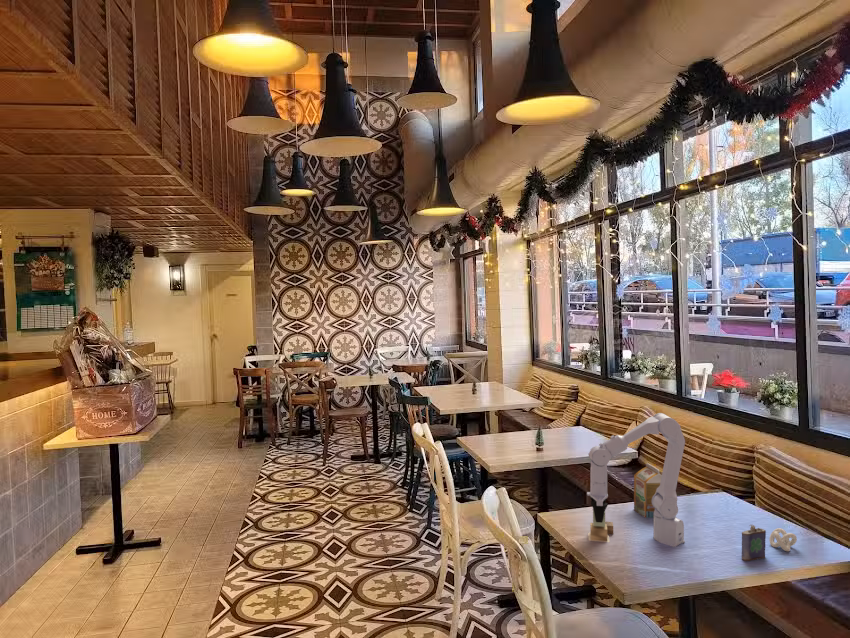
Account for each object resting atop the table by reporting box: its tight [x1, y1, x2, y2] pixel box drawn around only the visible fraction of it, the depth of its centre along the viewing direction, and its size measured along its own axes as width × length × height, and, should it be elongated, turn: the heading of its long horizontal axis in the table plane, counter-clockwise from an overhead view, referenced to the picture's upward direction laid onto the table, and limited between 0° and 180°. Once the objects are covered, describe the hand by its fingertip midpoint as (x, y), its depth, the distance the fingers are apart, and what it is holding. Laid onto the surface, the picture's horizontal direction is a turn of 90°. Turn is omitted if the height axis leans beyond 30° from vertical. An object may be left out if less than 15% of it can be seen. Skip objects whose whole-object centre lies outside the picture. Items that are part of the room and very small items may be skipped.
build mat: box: [587, 532, 610, 543], centre depth 209 cm, size 14×14×1 cm
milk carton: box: [633, 462, 662, 519], centre depth 234 cm, size 11×11×19 cm
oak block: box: [589, 522, 607, 542], centre depth 209 cm, size 6×6×4 cm
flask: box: [741, 524, 767, 562], centre depth 193 cm, size 9×3×11 cm, turn 110°
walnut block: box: [605, 521, 614, 535], centre depth 214 cm, size 4×4×3 cm
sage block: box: [592, 509, 606, 527], centre depth 209 cm, size 4×4×5 cm
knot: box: [768, 527, 798, 552], centre depth 201 cm, size 8×8×6 cm
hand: (598, 519), depth 209 cm, fingers closed on sage block, 4 cm apart
